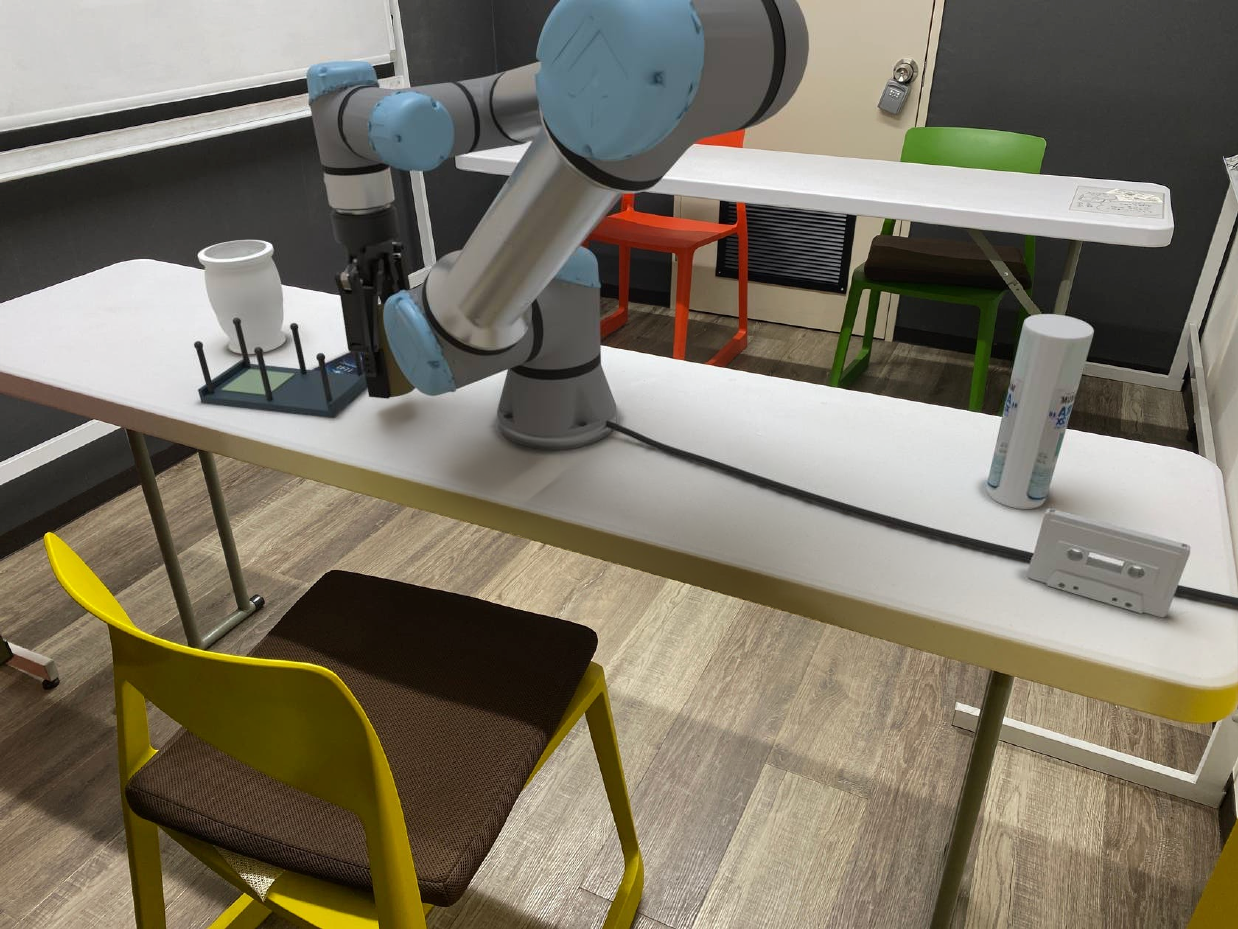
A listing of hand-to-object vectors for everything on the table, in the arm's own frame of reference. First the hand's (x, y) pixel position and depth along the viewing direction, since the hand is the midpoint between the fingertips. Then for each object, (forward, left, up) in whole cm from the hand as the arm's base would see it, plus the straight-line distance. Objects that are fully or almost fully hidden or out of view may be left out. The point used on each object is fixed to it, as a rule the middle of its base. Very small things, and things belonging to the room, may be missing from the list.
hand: (392, 385), depth 117 cm
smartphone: (+12, -15, -5) cm, 20 cm away
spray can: (-77, +3, -4) cm, 77 cm away
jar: (+31, -16, -4) cm, 36 cm away
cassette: (-82, +20, -4) cm, 84 cm away
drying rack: (+17, -2, -4) cm, 18 cm away
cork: (0, 0, 0) cm, 1 cm away
